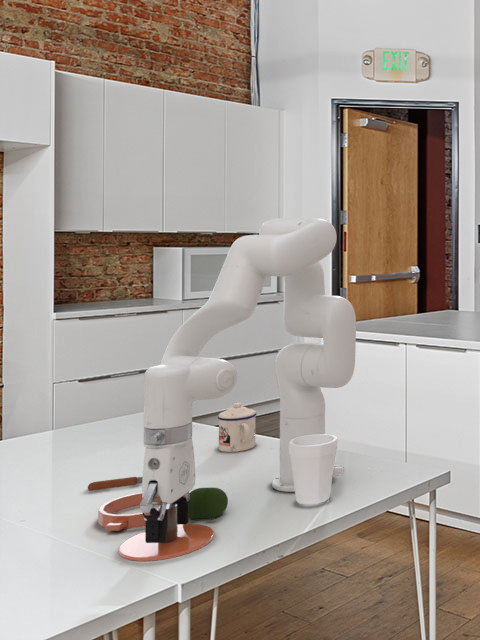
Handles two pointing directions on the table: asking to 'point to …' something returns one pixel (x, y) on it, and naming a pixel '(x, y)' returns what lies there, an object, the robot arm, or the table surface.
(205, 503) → the avocado
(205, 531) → the lid
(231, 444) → the teacup with lid
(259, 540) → the table surface
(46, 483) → the table surface
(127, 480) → the kitchen knife
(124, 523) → the pot
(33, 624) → the table surface
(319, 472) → the foam cup
